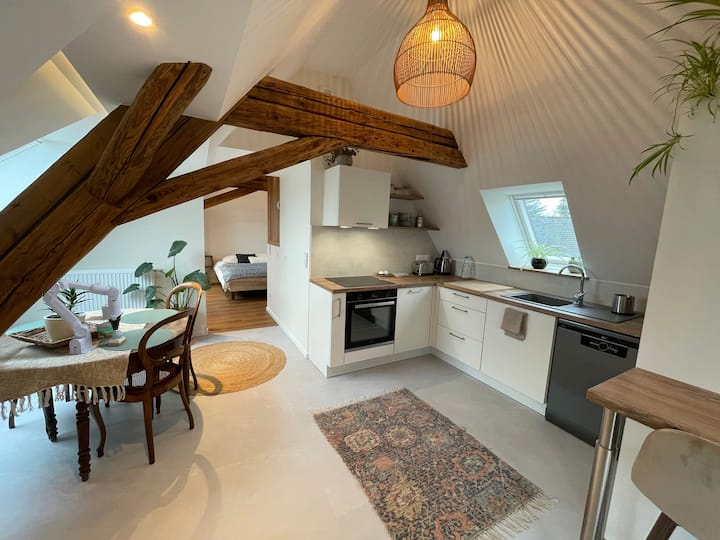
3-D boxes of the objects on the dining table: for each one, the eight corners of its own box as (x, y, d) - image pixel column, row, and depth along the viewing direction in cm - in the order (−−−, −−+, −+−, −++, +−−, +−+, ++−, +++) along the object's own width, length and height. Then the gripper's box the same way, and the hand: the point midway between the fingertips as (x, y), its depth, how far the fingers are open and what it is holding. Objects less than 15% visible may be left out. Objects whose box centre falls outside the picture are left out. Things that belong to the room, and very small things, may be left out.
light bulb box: (109, 316, 230) (108, 302, 229) (120, 315, 232) (118, 302, 231) (102, 320, 220) (101, 306, 219) (113, 319, 222) (112, 306, 221)
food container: (104, 340, 186) (102, 325, 185) (96, 339, 187) (94, 324, 186) (123, 333, 198) (122, 319, 196) (115, 332, 199) (114, 318, 198)
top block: (118, 343, 179) (118, 339, 178) (109, 343, 178) (108, 339, 178) (125, 339, 184) (124, 336, 184) (115, 339, 184) (115, 336, 183)
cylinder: (118, 339, 179) (117, 333, 178) (110, 339, 179) (110, 333, 178) (123, 336, 183) (123, 330, 183) (116, 336, 183) (115, 330, 182)
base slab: (119, 347, 179) (119, 343, 178) (108, 347, 178) (107, 343, 178) (127, 342, 185) (126, 339, 185) (115, 342, 185) (115, 339, 184)
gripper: (122, 308, 175) (124, 330, 177) (123, 302, 186) (125, 323, 188) (106, 310, 170) (108, 332, 173) (108, 304, 182) (110, 325, 184)
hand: (116, 328), depth 180 cm, fingers open, 7 cm apart
